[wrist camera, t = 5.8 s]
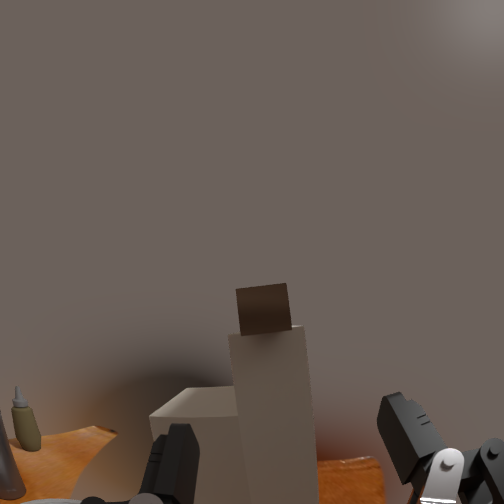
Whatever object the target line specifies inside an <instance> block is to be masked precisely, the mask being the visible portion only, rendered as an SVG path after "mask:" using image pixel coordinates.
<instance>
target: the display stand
mask: <svg viewBox="0 0 504 504" xmlns="http://www.w3.org/2000/svg"><path fill="white" fill-rule="evenodd" d="M228 340H229V348H230V358H231V365H232V374H233V382H234V386H224V387H206V388H186V389H185V390H184V391H182V392H181V393H180V394H179V395H177V396H176V397H174V398H173V399H172V400H170V401H169V402H168V403H166V404H165V405H164V406H162V407H161V408H160V409H158V410H157V411H155V412H154V413H153V414H151V415H150V416H149V419H150V424H151V429H152V434H153V439H154V441H155V440H156V439H157V438H158V437H159V436H160V434H165V435H168V431H169V428H170V425H171V424H172V423H188V424H190V425H191V427H192V429H193V432H194V434H195V436H196V439H197V441H198V443H199V447H200V458H199V466H198V473H197V481H196V489H195V497H194V504H319V494H318V474H317V459H316V443H315V430H314V418H313V407H312V396H311V385H310V376H309V367H308V357H307V349H306V340H305V331H304V326H292V330H289V331H281V332H274V333H265V334H257V335H248V336H241V333H240V332H237V333H233V334H229V335H228Z"/></svg>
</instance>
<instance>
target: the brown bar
mask: <svg viewBox="0 0 504 504" xmlns="http://www.w3.org/2000/svg"><path fill="white" fill-rule="evenodd" d="M236 296H237V306H238V314H239V323H240V333H241V336H248V335H257V334H265V333H274V332H281V331H289V330H292V324H291V316H290V308H289V300H288V292H287V285H286V283H282V284H273V285H266V286H257V287H249V288H240V289H236Z"/></svg>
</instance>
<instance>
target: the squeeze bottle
mask: <svg viewBox="0 0 504 504" xmlns="http://www.w3.org/2000/svg"><path fill="white" fill-rule="evenodd" d="M12 401H13V405H14V407H12V409H11V410H12V417H13V423H14V429H15V435H16V438H17V439H18V441H19V443H20V444H21V446H22V447H23V449H25V450H27V451H37V450H39V449H41V435H40V432H39V429H38V426H37V423H36V420H35V417H34V414H33V411H32V409H31V408H30V407H28V402H27V400H26V399H23V396H22V393H21V390H20V388H19V387H18V386H16V387H15V399H13V400H12Z"/></svg>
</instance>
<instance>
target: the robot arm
mask: <svg viewBox="0 0 504 504" xmlns="http://www.w3.org/2000/svg"><path fill="white" fill-rule="evenodd" d="M377 426H378V429H379V432H380V435H381V437H382V439H383V441H384V443H385V446H386V448H387V450H388V452H389V455H390V457H391V459H392V462H393V464H394V466H395V469H396V471H397V473H398V476H399V478H400V480H401V483H402V485H404V484H407V483H409V482H411V484H412V486H413V490H412V493H411V495H410V498H409V500H408V503H407V504H455V500H456V496H457V493H458V495H459V498H460V500H461V503H462V504H504V442H503V441H502V440H501V439H498V438H492V439H489V440H487V441H486V442H485V443H484V444H483V445H482V446H481V448H479V449H475V450H470V451H466V452H459V451H458V450H456V449H451V448H448V447H447V446H446V445H445V443H444V442H443V440H442V438H441V437H440V435H439V433H438V432H437V430H436V429H435V427H434V425H433V424H432V422H430V419H429V418H428V416H426V413H425V411H424V410H423V408H422V407H421V405H419V404H418V403H416V402H415V401H413V400H409V401H406V399H405V398H404V396H403V395H402V394H401V393H400V392H397V393H394V394H390V395H387V396H384V397H383V398H382V401H381V405H380V409H379V413H378V417H377ZM199 458H200V447H199V443H198V441H197V439H196V436H195V434H194V432H193V429H192V427H191V425H190V424H188V423H172V424H171V425H170V428H169V431H168V435H165V434H160V436H159V437H158V438H157V439H156V440H155V441H154V443H153V446H152V450H151V455H150V456H149V460H148V461H149V462H148V463H147V467H146V471H145V474H144V478H143V481H142V485H141V489H140V491H139V493H138V494H137V495H136V496H134V497H133V498H132V499H131V500H129V501H124V502H105V501H104V500H102V499H101V498H98V497H88V498H86V499H84V500H82V501H81V503H80V504H194V497H195V489H196V481H197V473H198V466H199ZM25 493H26V487H25V485H24V483H23V480H22V478H21V476H20V473H19V470H18V468H17V465H16V462H15V460H14V457H13V454H12V451H11V448H10V445H9V441H8V438H7V435H6V431H5V428H4V424H3V420H2V416H1V412H0V498H2V499H8V500H10V499H17V498H20V497H22V496H23V495H24V494H25Z"/></svg>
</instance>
